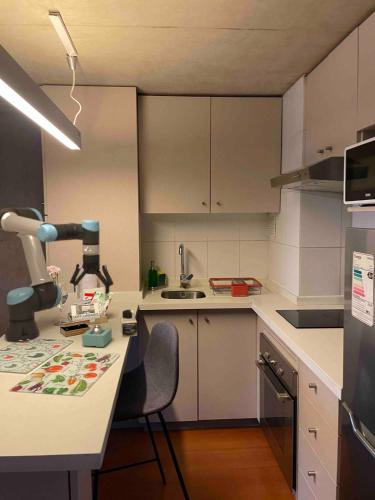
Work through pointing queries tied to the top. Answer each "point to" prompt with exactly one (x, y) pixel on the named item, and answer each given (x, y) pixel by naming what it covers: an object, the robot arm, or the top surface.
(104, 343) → the collar
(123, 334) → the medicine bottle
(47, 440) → the top surface
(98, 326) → the post
